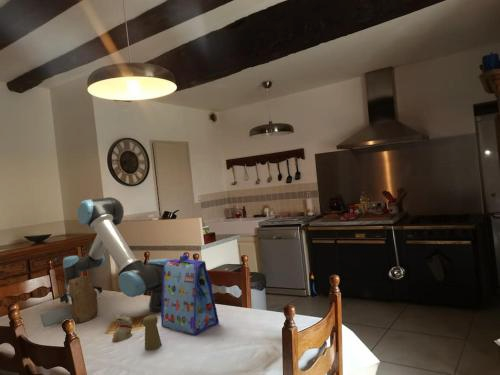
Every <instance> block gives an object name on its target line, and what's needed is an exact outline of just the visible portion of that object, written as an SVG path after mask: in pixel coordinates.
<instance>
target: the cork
mask: <svg viewBox="0 0 500 375" xmlns="http://www.w3.org/2000/svg"><path fill="white" fill-rule="evenodd" d="M157 324H158V317H157V316H156V315H154V314H150V315H147V316H145V317H143V319H142V326H143V327H144V350H145V351H154V350H158V349H160V348H161V347H162V345H163V344H162V340H161V336H160V332H159V328H158V325H157Z"/></svg>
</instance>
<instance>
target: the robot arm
mask: <svg viewBox="0 0 500 375" xmlns="http://www.w3.org/2000/svg"><path fill="white" fill-rule="evenodd" d="M124 209H125V208H124V206H123V204H122V202H121V201H120V200H118V199H117V198H115V197H112V196H111V197H110V196H108V197H102V198H101V197H100V198H91V199H90V198H89V199H85V200H82V201H80V203H79V205H78V207H77V210H76V211H77V213H76V214H77V220H78V222H79V224H80V225H83V226H88V228H89V229H90V231H94V232H95V233H96V237H95V238H94V241H93V243H92V245H91V248H90V249H89V252H88V254H87V256H82V257H79V256H78V255H70V256H64V258H63V260H62V265H63V266H62V268H63V273H64V274H63V275H64V282H65V284H64V288H65V290H66V291H63V292H62V294H61V295H60V296H59V302H60V303H65V304H69V305H70V304H72V301H71V297H70V296H69V280H71V279H74V278H77V277H81V276H82V275H81V273H82V272H85V271H91V270H93V269H97V268H99V267H102V266H104V264H105V263H106V258H105V253H106V250H107V252H108V254H109V255H110V256H111V258H112V260H113V261H114V263H115V265H116V267H117V268H118V273H117V274H118V277H117V283H118V287H119V289H120V291H121V293H123V295H125V296H127V297H129V298H134V297H139V296H142V295H143V294H145V293H148V292H150V298H149V303H148V309H149V311H150V312H152V313H161V309H162V285H163V267H164V263H165V261H166V260H172V258H171V259H170V258H156V259H148V260H147V263H146V265H145V264H144V262H143V261H142V259H139V258H138V259H137V257H136V256H135V254H134V253H133V251H132V250H131V248H130V246H129V245H128V244H127V242H126V240H125V239H124V238H123V236H122V235H121V233H120V231H119V230H118V228H117V227H118V226H120V225H121V223H122V221H123V218H124V215H125V214H124V213H125V210H124ZM92 286H93V288H94V289H95V291H96V296H97V298H100V295H101V293H103V287H102V286H96V285H94V284H92Z"/></svg>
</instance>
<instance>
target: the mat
mask: <svg viewBox="0 0 500 375" xmlns="http://www.w3.org/2000/svg"><path fill="white" fill-rule="evenodd" d="M40 314H41V315H40V318H41V317H42V318H41V320H42V323H43V325H44V327H45V328H47V327H50V326H55V325H56V324H60V323H64V322H63V321H64V320H66V319H72V320H73V318H72V315H71V308H70V306H66V307H63V308H58V309H55V310H49V311H47V312H46V311H45V312H42V313H40Z"/></svg>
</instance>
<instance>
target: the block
mask: <svg viewBox="0 0 500 375" xmlns="http://www.w3.org/2000/svg"><path fill="white" fill-rule="evenodd" d="M92 285H93V284H92V283H91V282H90V277H89V275H81V277H77V278H74V279H71V280H69V292H68V293H69V296H70V297H71V301H72V304H69V305H70V308H71V315H72V318H73V319H72V321H75V323H77V324H79V323H85V322H88V321H90V320H93V319H94V318H96V317H97V316H98V314H99V305H98V297H97V296H96V291H95V289H94V288H93V286H94V285H93V286H92Z"/></svg>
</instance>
